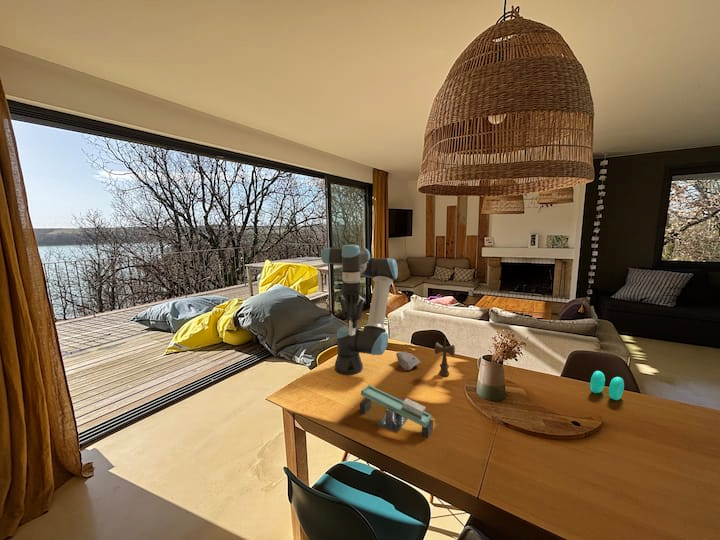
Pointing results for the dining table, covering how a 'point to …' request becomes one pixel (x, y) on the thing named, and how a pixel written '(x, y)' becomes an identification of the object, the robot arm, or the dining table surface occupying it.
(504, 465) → the dining table surface
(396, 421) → the stand
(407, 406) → the block
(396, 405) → the beam
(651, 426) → the dining table surface
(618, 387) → the teal egg pair
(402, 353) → the decorative stone
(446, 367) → the kendama
